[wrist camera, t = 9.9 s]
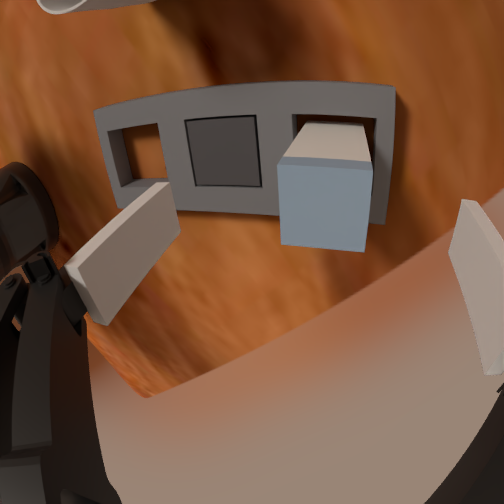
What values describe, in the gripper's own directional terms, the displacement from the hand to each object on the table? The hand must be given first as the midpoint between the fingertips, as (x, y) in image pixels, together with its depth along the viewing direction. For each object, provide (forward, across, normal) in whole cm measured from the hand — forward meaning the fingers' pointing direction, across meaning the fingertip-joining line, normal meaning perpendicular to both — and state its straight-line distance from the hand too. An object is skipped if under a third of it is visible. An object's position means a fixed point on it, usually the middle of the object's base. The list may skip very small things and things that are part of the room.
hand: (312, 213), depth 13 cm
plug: (+11, +1, 0) cm, 11 cm away
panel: (+11, -7, 0) cm, 13 cm away
